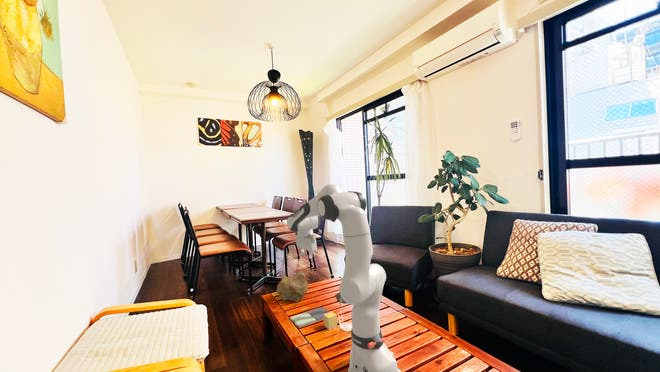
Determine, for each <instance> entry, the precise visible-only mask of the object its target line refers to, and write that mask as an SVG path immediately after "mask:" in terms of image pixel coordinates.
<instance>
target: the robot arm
mask: <svg viewBox="0 0 660 372" xmlns="http://www.w3.org/2000/svg"><path fill="white" fill-rule="evenodd" d="M366 208H367V199H366V197H365V196H364V194H363V193H361V192H359V191H349V190H348V191H346V192H345V191H344V192H343V191H342V189H341V187H340V186H338V185H337V184H335V183H329V184H327V185H325V186H324V187H323V188H321V190H319V191H318V193H317V194H316V195H314V197H313V198H311V199H310V200H308V201H307V202H305V203H304V204H302V205H301V206H298V207H297V209H296V211H295V212H293V213H290V215H288V217H287V220H286V226H287V228H288V230H289V231H291V232H292V233H294V236H295V244H296V246H297V248H299V250H300V252H301V256H305V255H306V252H305V250H306V251H308V259H313V255H314V252H317V250H318V246H317V240H316V238H315V237H314V236H315V235H314V230H315V229H318V228H320V225H321V218H322V219H324V220H327V221H331V222H333V223H335V222H336V220H338V221H339V222H340V223H341V227H342V228H341V229H342V237H343V244H344V251H345V261H344V271H343V276H342V279H341V280H340V281H341V282H340V284H339V286H338V288H339V289H338V291H339V293H340V295H341V297H342V298H343V300H344V301H345V302H347V303H346V304H349V305H352V308H351V331H350V339H351V341H352V343H351V347H350V352H349V353H350V354H349V367H348V369H347V372H402V370H400V368H398V364H397V360H396V358H395V354H394V352H393V351H391V350H390V349H389V348H388V346H387V345H386V344H385V342H384V341H385V340H386V337H383V333H382V330H381V327H380V325H381V323H380V309H381V302H382V296H383V290H384V285H385V282H386V280H387V274H386V271H385V269H384V268H383V266H381V265H380V264H378V263H371V262H372V261H371V260H372V257H373V254H374V249H373V241H372V236H371V235H372V234H371V230H370V229H371V228H370V225H369V221H368V218H367V215H366V212H365V211H366Z"/></svg>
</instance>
